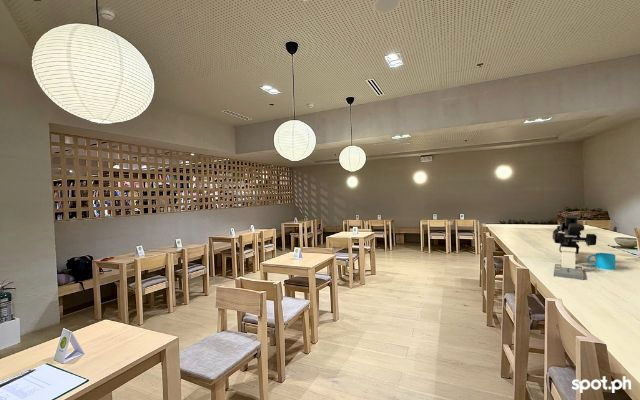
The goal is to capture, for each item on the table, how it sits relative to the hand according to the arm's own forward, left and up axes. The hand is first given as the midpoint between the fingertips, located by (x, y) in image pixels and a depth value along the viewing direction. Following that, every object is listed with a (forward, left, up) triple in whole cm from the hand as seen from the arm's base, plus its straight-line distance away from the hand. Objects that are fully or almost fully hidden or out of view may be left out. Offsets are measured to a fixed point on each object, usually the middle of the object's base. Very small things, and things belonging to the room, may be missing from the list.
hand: (578, 244), depth 165 cm
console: (+5, -6, -16) cm, 17 cm away
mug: (-15, +15, -16) cm, 27 cm away
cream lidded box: (0, -4, -13) cm, 14 cm away
